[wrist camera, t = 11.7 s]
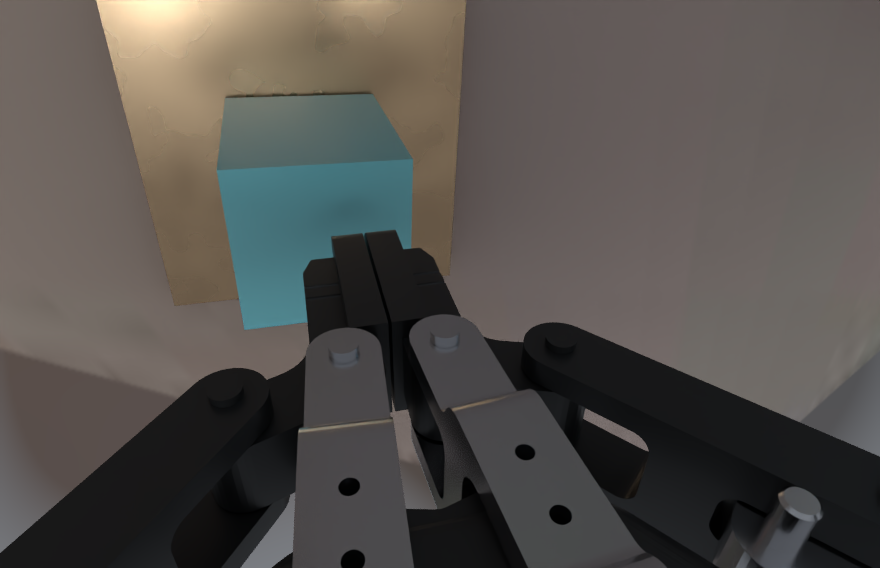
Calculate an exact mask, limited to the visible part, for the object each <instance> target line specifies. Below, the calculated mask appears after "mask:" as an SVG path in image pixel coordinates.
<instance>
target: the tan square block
mask: <svg viewBox="0 0 880 568" xmlns="http://www.w3.org/2000/svg"><path fill="white" fill-rule="evenodd" d="M96 1H97V5H98V9H99V13H100V17H101V21H102V25H103V29H104V33H105V36H106V40H107V44H108V48H109V52H110V56H111V60H112V64H113V68H114V71H115V75H116V79H117V83H118V87H119V91H120V95H121V99H122V103H123V106H124V110H125V114H126V118H127V122H128V126H129V130H130V134H131V138H132V141H133V145H134V149H135V153H136V157H137V161H138V165H139V169H140V173H141V176H142V180H143V184H144V188H145V192H146V196H147V200H148V204H149V208H150V211H151V215H152V219H153V223H154V227H155V231H156V235H157V239H158V243H159V246H160V250H161V254H162V258H163V262H164V266H165V270H166V274H167V278H168V281H169V285H170V289H171V293H172V297H173V301H174V305H175V306H178V305H187V304H196V303H205V302H214V301H223V300H232V299H239V295H238V290H237V284H236V278H235V272H234V267H233V261H232V255H231V250H230V244H229V238H228V233H227V227H226V221H225V215H224V210H223V204H222V198H221V193H220V187H219V181H218V175H217V163H218V154H219V145H220V137H221V128H222V120H223V111H224V103H225V98H242V97H279V96H316V95H352V94H373V95H374V97H375V98H376V100H377V102H378V103H379V105H380V106H381V108H382V110H383V111H384V113H385V115H386V116H387V118H388V119H389V121H390V123H391V124H392V126H393V128H394V129H395V131H396V132H397V134H398V136H399V137H400V139H401V141H402V142H403V144H404V145H405V147H406V149H407V150H408V152H409V153H410V155H411V157H412V158H413V185H412V231H411V248H421V249H423V250H424V251H425V252H427V253H428V254H429V255H431V256H432V257H433V258H434V260H435V262H436V264H437V266H438V268H439V272H440V273H441V275H442V276H447V275H449V274H450V258H451V241H452V225H453V209H454V192H455V176H456V159H457V143H458V127H459V110H460V94H461V77H462V61H463V44H464V28H465V12H466V0H96Z"/></svg>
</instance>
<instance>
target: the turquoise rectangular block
mask: <svg viewBox="0 0 880 568" xmlns="http://www.w3.org/2000/svg"><path fill="white" fill-rule="evenodd" d="M217 175H218V181H219V187H220V193H221V198H222V204H223V210H224V215H225V221H226V227H227V233H228V238H229V244H230V250H231V255H232V261H233V267H234V272H235V278H236V284H237V290H238V295H239V301H240V307H241V312H242V318H243V324H244V330H247V329H255V328H264V327H272V326H280V325H288V324H297V323H305V322H307V311H306V301H305V291H304V281H303V272H304V270H305V269H306V267H307V265H308V264H309V262H310V261H311V260H314V259H323V258H332V257H333V253H332V243H331V236H339V235H349V234H358V233H362V234H363V236H364V233H367V232H376V231H386V230H396V232H397V234H398V237H399V239H400V242H401V244H402V247H403V249H411V231H412V185H413V158H412V157H411V155H410V153H409V152H408V150H407V149H406V147H405V145H404V144H403V142H402V141H401V139H400V137H399V136H398V134H397V132H396V131H395V129H394V128H393V126H392V124H391V123H390V121H389V119H388V118H387V116H386V115H385V113H384V111H383V110H382V108H381V106H380V105H379V103H378V102H377V100H376V98H375V97H374V95H373V94H352V95H316V96H279V97H242V98H225V103H224V111H223V120H222V128H221V137H220V145H219V154H218V163H217Z"/></svg>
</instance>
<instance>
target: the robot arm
mask: <svg viewBox="0 0 880 568" xmlns="http://www.w3.org/2000/svg"><path fill="white" fill-rule="evenodd" d="M331 243H332V253H333V257H332V258H323V259H314V260H311V261H310V262H309V264H308V265H307V267H306V269H305V270H304V272H303V281H304V291H305V301H306V311H307V322H308V332H309V346H308V348H307V351H306V356H305V357H304V359H303V360H302V361H301V362H300V363H299V364H298V365H296V366H295V367H294V368H292V369H291V370H289V371H287V372H285V373H283V374H281V375H278V376H276V377H273V378H271V379H268V380H266V379H265V378H264V376H263V375H261V374H260V373H258V372H256V371H254V370H250V369H244V368H231V369H225V370H220V371H217V372H214V373H212V374H210V375H208V376H206V377H204V378H202V379H201V380H199V381H198V382H197V383H195V384H194V385H193V386H192V387H191V388H190V389H188V390H187V391H186V392H185V393H184V394H183V395H182V396H180V397H179V398H178V399H177V400H176V401H175V402H173V403H172V405H170V406H169V407H168V408H167V409H165V410H164V411H163V412H162V413H161V414H160V415H159V416H157V417H156V418H155V419H154V420H153V421H152V422H150V423H149V424H148V425H147V426H146V427H145V428H144V429H142V430H141V431H140V432H139V433H138V434H137V435H136V436H134V437H133V438H132V439H131V440H130V441H129V442H127V443H126V444H125V445H124V446H123V447H122V448H121V449H119V450H118V451H117V452H116V453H115V454H114V455H113V456H112V457H110V458H109V459H108V460H107V461H106V462H105V463H103V464H102V465H101V466H100V467H99V468H98V469H97V470H95V471H94V472H93V473H92V474H91V475H90V476H88V477H87V478H86V479H85V480H84V481H83V482H82V483H80V484H79V485H78V486H77V487H76V488H75V489H73V490H72V491H71V492H70V493H69V494H68V495H67V496H65V497H64V498H63V499H62V500H61V501H60V502H59V503H57V504H56V505H55V506H54V507H53V508H52V509H51V510H49V511H48V512H47V513H46V514H45V515H44V516H42V517H41V518H40V519H39V520H38V521H37V522H35V523H34V524H33V525H32V526H31V527H30V528H29V529H27V530H26V531H25V532H24V533H23V534H22V535H21V536H19V537H18V538H17V539H16V540H15V541H14V542H12V544H10V545H9V546H8V547H7V548H6V549H4V550H3V551H2V552H1V553H0V568H240V567H241V566H242V565H243V563H244V562H245V561H246V560H247V558H248V557H249V555H250V554H251V553H252V552H253V550H254V549H255V548H256V546H257V545H258V544H259V542H260V541H261V540H262V539H263V537H264V536H265V535H266V533H267V532H268V531H269V529H270V528H271V527H272V525H273V524H274V523H275V522H276V520H277V519H278V518H279V516H280V515H281V514H282V512H283V511H284V509H285V508H286V506H287V504H288V502H289V498H290V494H292V493H294V492H295V517H294V540H293V552H292V553H291V554H289V555H287V556H286V557H285V558H284V559H282V560H281V561H280V562H278V563H277V564H276V565H275V566H273V567H272V568H880V457H879V456H877V455H875V454H872V453H870V452H867V451H865V450H863V449H860V448H858V447H856V446H854V445H851V444H849V443H847V442H844V441H841V440H839V439H837V438H835V437H833V436H830V435H828V434H826V433H823V432H821V431H819V430H816V429H814V428H811V427H809V426H807V425H805V424H802V423H800V422H797V421H795V420H793V419H790V418H788V417H786V416H783V415H781V414H779V413H776V412H774V411H772V410H769V409H767V408H765V407H762V406H760V405H758V404H755V403H753V402H751V401H748V400H746V399H744V398H741V397H739V396H737V395H734V394H732V393H730V392H727V391H725V390H723V389H720V388H718V387H716V386H713V385H711V384H709V383H706V382H704V381H702V380H699V379H697V378H695V377H692V376H690V375H688V374H685V373H683V372H681V371H678V370H676V369H674V368H671V367H669V366H667V365H664V364H662V363H660V362H657V361H655V360H652V359H650V358H648V357H645V356H643V355H641V354H638V353H636V352H634V351H631V350H629V349H627V348H624V347H622V346H620V345H617V344H615V343H613V342H610V341H608V340H606V339H603V338H601V337H599V336H596V335H594V334H592V333H589V332H587V331H585V330H582V329H580V328H578V327H575V326H572V325H569V324H565V323H554V322H552V323H544V324H540V325H537V326H535V327H533V328H531V329H530V330H529V331H528V332H527V333H526V335H525V337H524V342H510V341H499V340H493V339H489V338H486V337H483V336H482V334H481V333H480V331H479V329H478V328H477V327H476V326H475V325H474V324H473V323H472V322H470V321H469V320H467V319H465V318H462V317H461V316H460V314H459V312H458V309H457V307H456V305H455V303H454V301H453V299H452V296H451V294H450V292H449V290H448V288H447V286H446V283H444V279H443V277H442V275H441V273H440V272H439V268H438V266H437V264H436V262H435V260H434V258H433V257H432V256H431V255H429V254H428V253H427V252H425V251H424V250H423V249H421V248H411V249H403V247H402V244H401V242H400V239H399V237H398V234H397V232H396V230H386V231H376V232H367V233H364V236H363V234H362V233H358V234H349V235H339V236H331ZM392 400H393V404H394V408H395V411H400V410H406V409H408V411H409V415H410V418H411V439H412V442H413V445H414V448H415V451H416V453H417V456H418V459H419V461H420V464H421V467H422V469H423V472H424V475H425V477H426V480H427V483H428V486H429V488H430V491H431V493H432V496H433V499H434V501H435V504H436V507H437V509H436V510H428V509H406V507H405V500H404V493H403V485H402V479H401V471H400V464H399V457H398V450H397V442H396V435H395V428H394V422H393V418H392V417H391V416H390V412H392ZM585 408H586V409H588V410H590V411H592V412H594V413H596V414H598V415H600V416H602V417H604V418H606V419H608V420H610V421H612V422H614V423H616V424H618V425H620V426H622V427H624V428H626V429H628V430H630V431H632V432H634V433H636V434H637V435H639V436H640V437H641V438H642V439H643V440H644V441H645V443H646V445H647V447H648V449H649V452H648V451H645V450H643V449H641V448H639V447H637V446H635V445H633V444H631V443H629V442H627V441H625V440H623V439H621V438H619V437H617V436H615V435H613V434H611V433H609V432H607V431H606V430H604V429H602V428H600V427H598V426H596V425H594V424H592V423H590V422H588V421H586V420H584V419H583V416H584V412H585Z"/></svg>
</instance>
